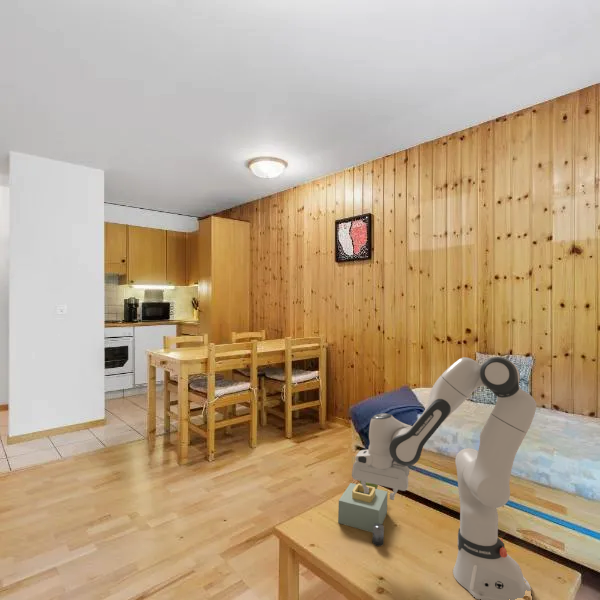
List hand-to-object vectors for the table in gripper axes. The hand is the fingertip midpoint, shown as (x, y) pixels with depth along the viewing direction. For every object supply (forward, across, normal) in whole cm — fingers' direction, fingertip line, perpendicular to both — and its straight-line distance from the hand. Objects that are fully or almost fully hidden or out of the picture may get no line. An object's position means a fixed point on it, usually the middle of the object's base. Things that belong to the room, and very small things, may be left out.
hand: (379, 495), depth 142 cm
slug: (+17, 0, 0) cm, 17 cm away
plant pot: (+17, +11, -30) cm, 36 cm away
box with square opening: (+17, +9, -13) cm, 23 cm away
